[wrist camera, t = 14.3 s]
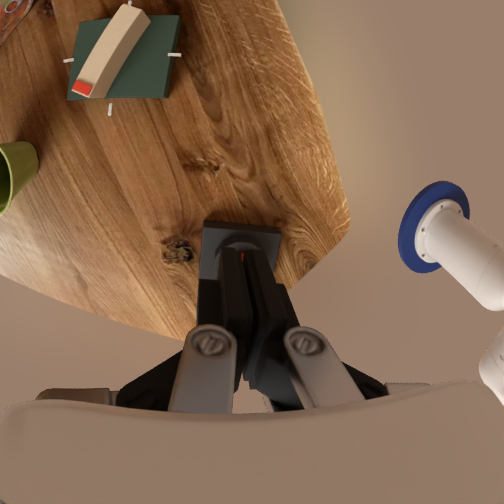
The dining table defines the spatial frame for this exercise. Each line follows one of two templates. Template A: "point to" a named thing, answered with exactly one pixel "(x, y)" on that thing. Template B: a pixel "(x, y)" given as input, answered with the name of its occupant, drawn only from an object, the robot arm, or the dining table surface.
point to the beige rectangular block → (111, 52)
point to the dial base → (132, 59)
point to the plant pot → (15, 170)
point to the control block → (235, 243)
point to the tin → (12, 15)
